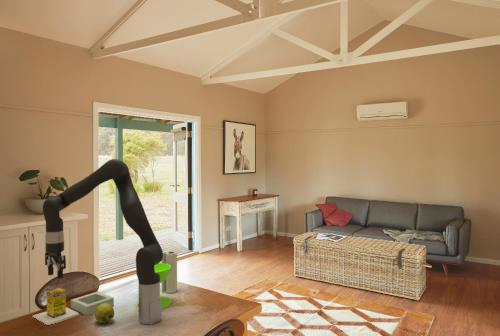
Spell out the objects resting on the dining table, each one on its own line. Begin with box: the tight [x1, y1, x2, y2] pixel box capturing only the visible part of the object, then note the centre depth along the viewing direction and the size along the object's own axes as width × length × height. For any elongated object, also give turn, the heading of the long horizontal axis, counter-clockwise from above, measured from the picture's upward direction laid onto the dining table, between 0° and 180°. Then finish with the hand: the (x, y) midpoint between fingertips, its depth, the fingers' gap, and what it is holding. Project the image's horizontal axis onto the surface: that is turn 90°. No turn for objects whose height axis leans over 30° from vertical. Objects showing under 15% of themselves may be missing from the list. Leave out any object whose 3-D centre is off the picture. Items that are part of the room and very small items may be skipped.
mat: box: [32, 306, 80, 326], centre depth 171 cm, size 14×14×1 cm
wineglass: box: [137, 262, 172, 310], centre depth 186 cm, size 16×16×18 cm
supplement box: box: [46, 287, 67, 318], centre depth 171 cm, size 6×6×11 cm
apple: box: [94, 303, 115, 324], centre depth 165 cm, size 8×9×8 cm
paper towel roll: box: [161, 250, 178, 294], centre depth 203 cm, size 7×6×21 cm
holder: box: [70, 291, 115, 316], centre depth 182 cm, size 14×14×4 cm
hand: (55, 276), depth 170 cm, fingers open, 8 cm apart
